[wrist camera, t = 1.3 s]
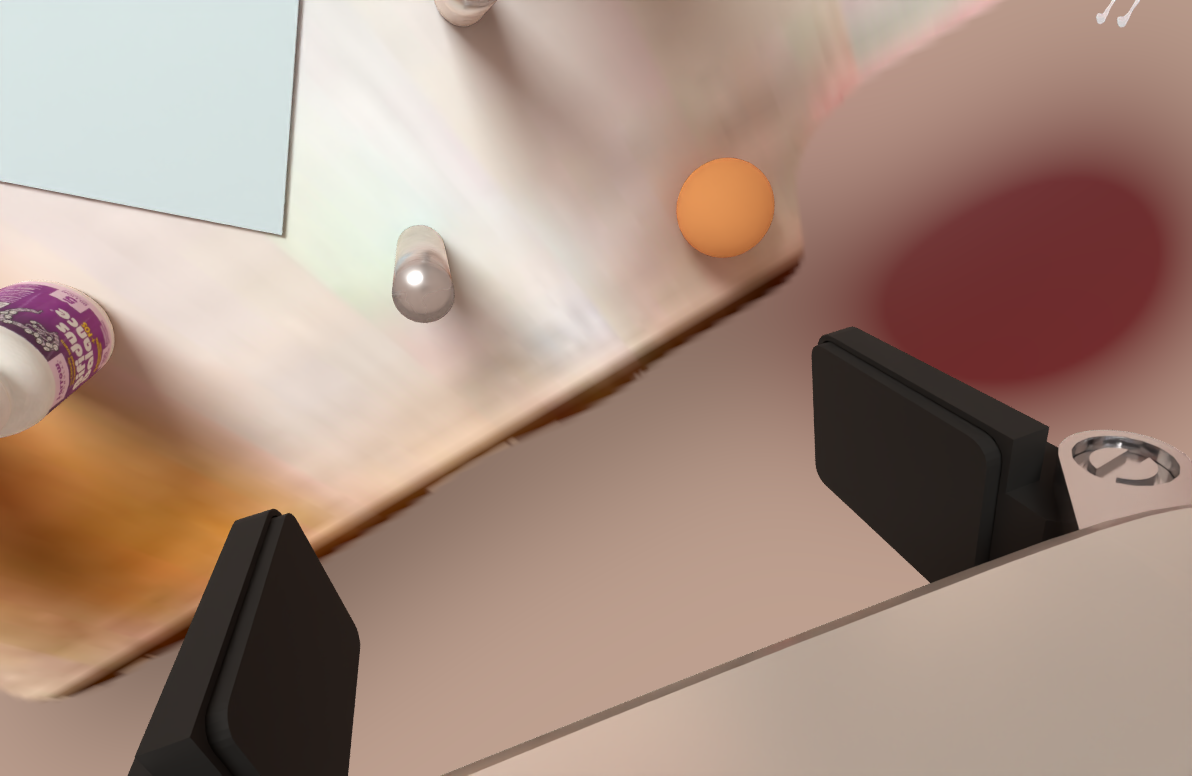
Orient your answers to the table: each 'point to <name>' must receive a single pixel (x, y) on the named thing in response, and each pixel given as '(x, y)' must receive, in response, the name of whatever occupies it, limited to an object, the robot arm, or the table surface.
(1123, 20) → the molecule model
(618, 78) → the table surface
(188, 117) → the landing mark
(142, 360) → the table surface
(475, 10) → the post
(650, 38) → the table surface
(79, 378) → the pill bottle
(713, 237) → the ball
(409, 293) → the post
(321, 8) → the table surface
